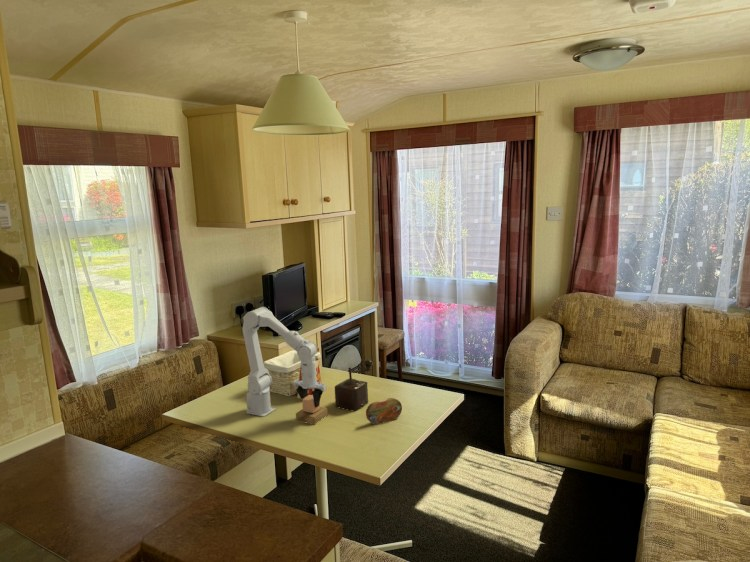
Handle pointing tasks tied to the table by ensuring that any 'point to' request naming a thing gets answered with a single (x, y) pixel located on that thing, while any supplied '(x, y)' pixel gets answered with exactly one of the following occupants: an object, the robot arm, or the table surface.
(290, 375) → the storage basket
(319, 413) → the brown flat square block
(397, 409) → the tin
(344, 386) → the dark brown boxy piece
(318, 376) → the milk carton
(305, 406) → the terracotta cube
